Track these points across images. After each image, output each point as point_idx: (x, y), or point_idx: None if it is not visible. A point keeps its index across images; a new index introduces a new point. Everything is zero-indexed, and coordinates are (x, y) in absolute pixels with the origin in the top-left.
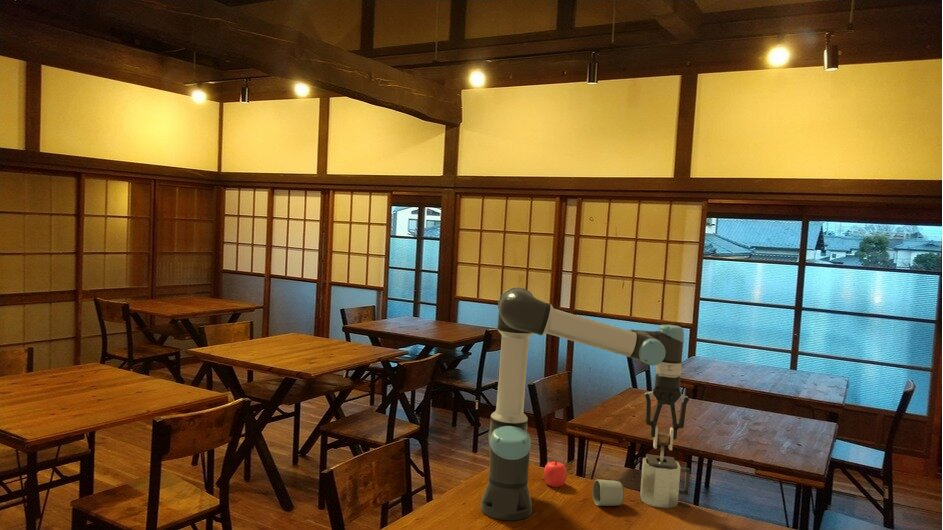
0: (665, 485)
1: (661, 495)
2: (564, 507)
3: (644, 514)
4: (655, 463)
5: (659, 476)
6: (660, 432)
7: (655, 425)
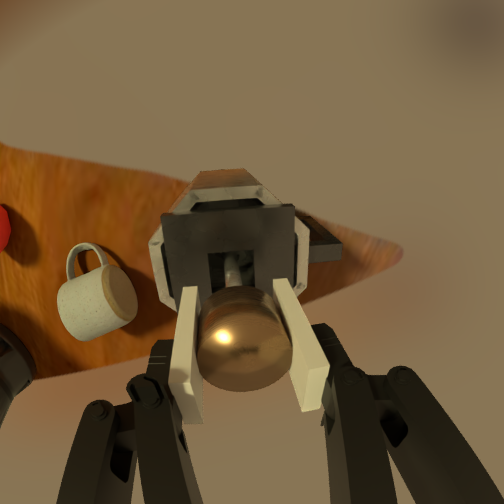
0: None
1: None
2: (51, 325)
3: None
4: None
5: None
6: (222, 335)
7: (180, 438)
